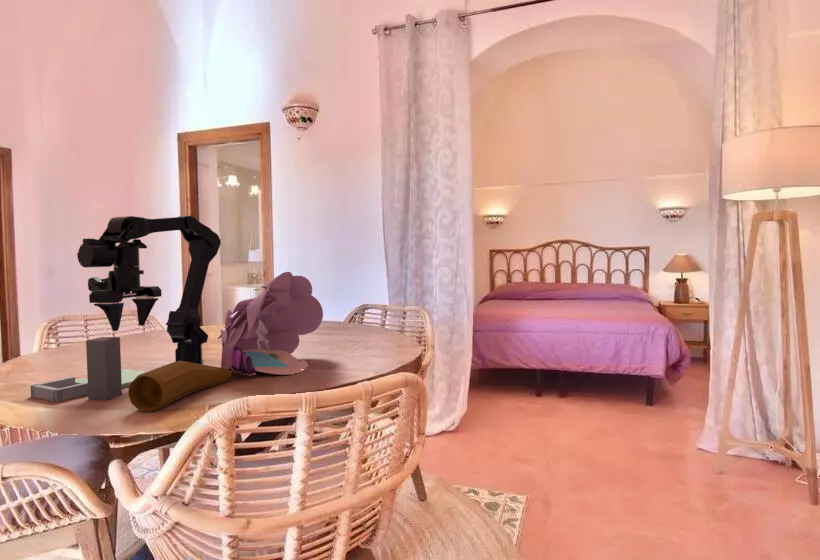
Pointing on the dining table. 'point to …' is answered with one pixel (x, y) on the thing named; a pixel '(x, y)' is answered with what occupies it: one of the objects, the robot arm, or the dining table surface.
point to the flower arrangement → (270, 328)
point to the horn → (173, 383)
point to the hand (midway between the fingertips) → (129, 328)
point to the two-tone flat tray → (73, 387)
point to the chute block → (104, 368)
